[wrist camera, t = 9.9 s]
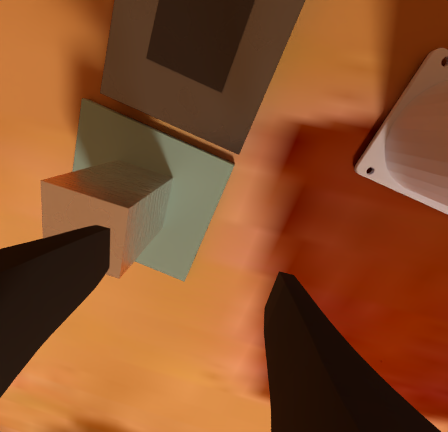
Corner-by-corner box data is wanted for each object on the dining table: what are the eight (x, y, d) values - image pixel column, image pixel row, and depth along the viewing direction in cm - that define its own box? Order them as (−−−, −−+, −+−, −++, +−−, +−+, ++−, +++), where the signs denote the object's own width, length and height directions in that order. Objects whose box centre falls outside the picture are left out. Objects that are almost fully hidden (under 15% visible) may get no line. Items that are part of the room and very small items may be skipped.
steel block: (173, 177, 18) (128, 208, 11) (162, 227, 20) (119, 278, 13) (117, 159, 18) (40, 180, 11) (112, 211, 19) (43, 254, 13)
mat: (234, 163, 17) (234, 165, 17) (186, 277, 22) (184, 281, 21) (87, 98, 17) (81, 98, 16) (69, 229, 21) (64, 232, 21)
